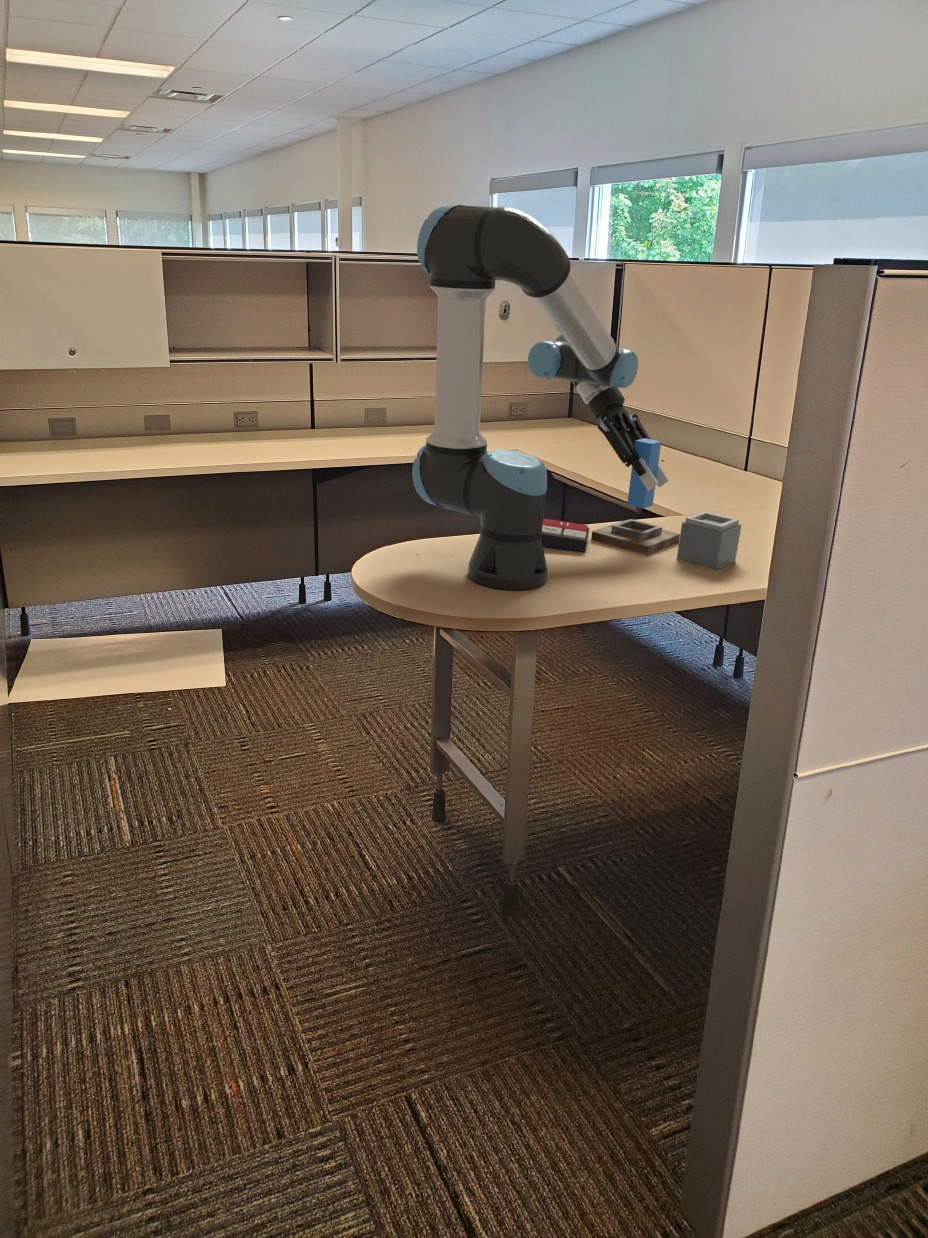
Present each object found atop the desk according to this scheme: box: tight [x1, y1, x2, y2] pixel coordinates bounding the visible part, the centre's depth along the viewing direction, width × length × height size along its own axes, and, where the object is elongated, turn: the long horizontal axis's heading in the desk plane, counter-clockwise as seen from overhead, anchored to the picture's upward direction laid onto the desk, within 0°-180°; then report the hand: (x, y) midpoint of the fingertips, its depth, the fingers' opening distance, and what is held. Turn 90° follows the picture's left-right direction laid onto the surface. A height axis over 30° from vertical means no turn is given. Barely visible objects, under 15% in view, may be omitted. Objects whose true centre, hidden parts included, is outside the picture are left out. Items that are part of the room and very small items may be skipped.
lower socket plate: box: [590, 518, 680, 556], centre depth 206 cm, size 14×14×4 cm
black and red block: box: [541, 518, 590, 554], centre depth 202 cm, size 11×4×15 cm
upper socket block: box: [676, 511, 742, 571], centre depth 195 cm, size 9×9×9 cm
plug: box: [626, 438, 662, 510], centre depth 201 cm, size 4×4×14 cm
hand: (658, 485), depth 199 cm, fingers closed on plug, 4 cm apart
